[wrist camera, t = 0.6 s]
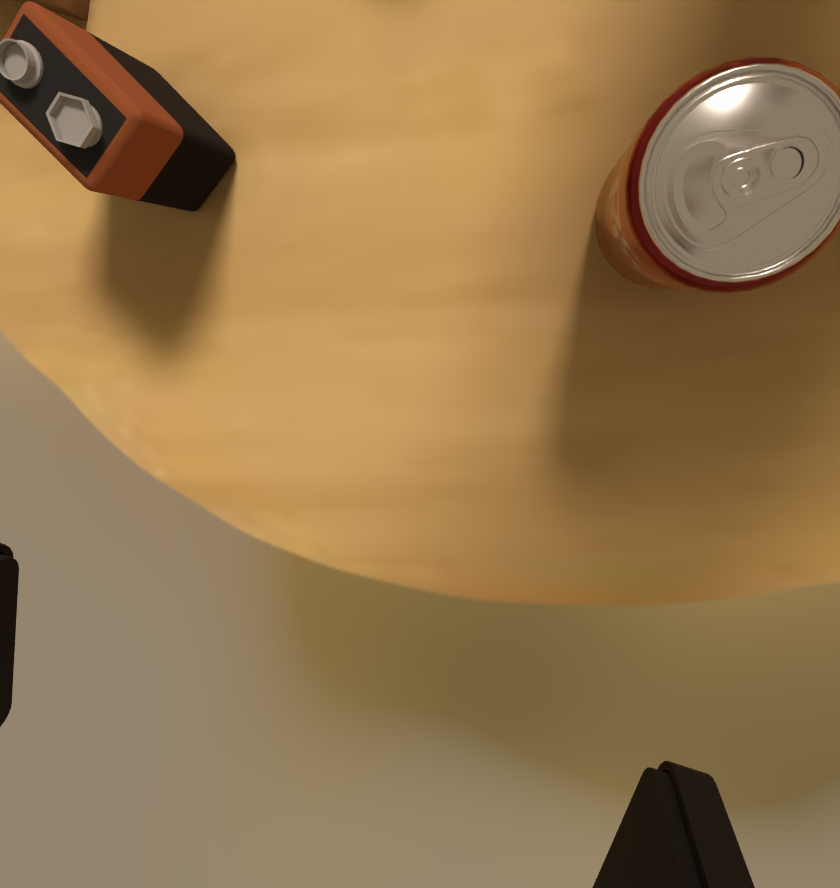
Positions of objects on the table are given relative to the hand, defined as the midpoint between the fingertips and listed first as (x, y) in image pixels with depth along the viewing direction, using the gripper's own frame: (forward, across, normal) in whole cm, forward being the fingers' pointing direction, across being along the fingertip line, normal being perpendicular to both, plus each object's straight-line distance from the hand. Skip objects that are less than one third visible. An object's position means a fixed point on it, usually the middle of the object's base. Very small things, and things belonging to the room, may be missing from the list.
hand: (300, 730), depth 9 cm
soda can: (+28, -7, -12) cm, 31 cm away
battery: (+28, +20, -9) cm, 36 cm away
